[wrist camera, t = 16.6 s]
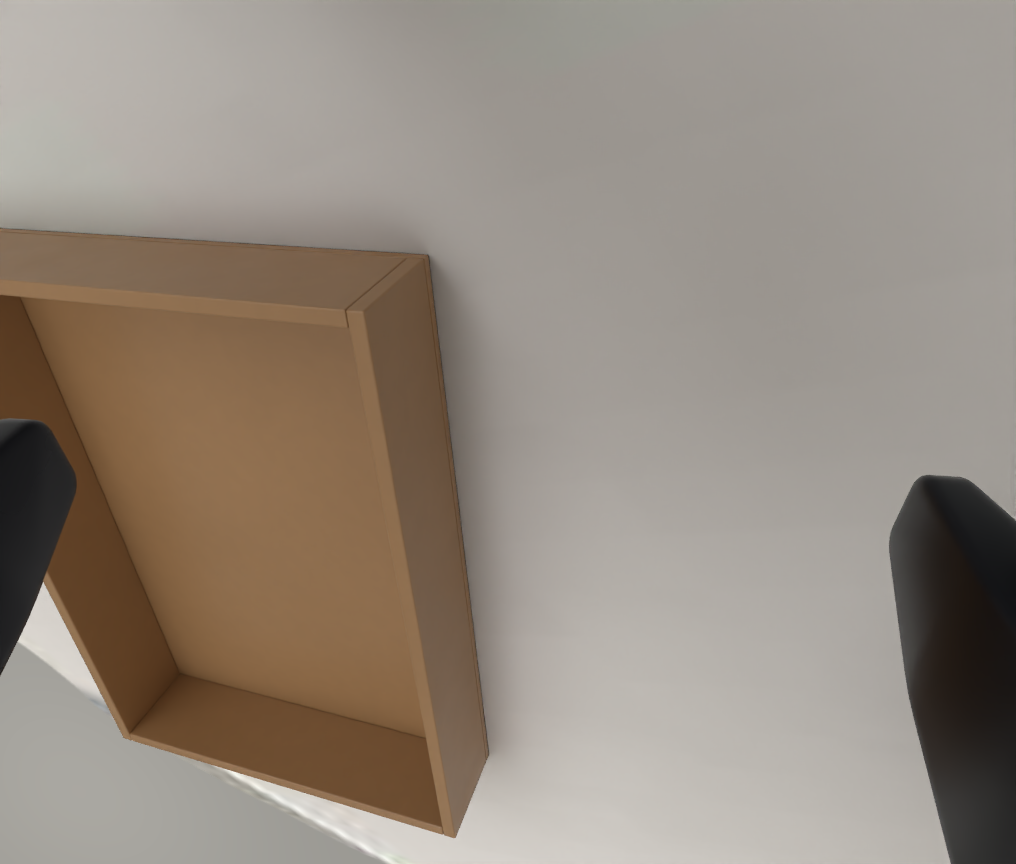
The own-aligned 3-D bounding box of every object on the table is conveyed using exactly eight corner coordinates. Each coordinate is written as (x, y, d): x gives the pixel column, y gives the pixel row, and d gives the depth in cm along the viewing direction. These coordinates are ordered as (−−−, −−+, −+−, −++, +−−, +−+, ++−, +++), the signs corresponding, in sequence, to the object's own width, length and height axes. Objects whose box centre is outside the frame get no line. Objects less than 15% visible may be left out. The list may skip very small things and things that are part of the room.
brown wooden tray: (428, 254, 21) (363, 311, 18) (489, 755, 33) (455, 839, 30) (-11, 227, 26) (-119, 269, 23) (178, 673, 38) (123, 738, 35)
